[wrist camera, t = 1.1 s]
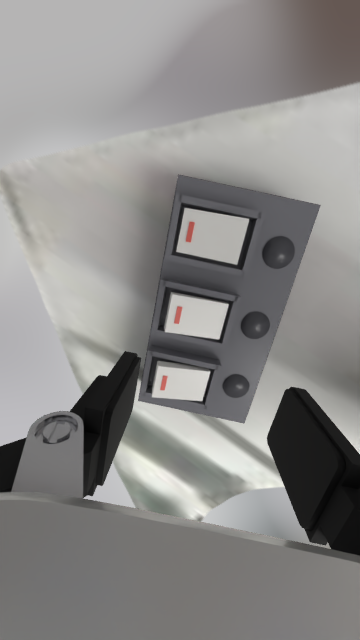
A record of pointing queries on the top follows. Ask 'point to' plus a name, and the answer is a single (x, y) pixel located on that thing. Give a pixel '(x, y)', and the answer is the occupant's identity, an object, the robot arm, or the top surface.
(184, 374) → the rocker
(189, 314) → the middle rocker
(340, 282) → the top surface
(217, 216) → the rocker
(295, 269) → the rocker switch panel
